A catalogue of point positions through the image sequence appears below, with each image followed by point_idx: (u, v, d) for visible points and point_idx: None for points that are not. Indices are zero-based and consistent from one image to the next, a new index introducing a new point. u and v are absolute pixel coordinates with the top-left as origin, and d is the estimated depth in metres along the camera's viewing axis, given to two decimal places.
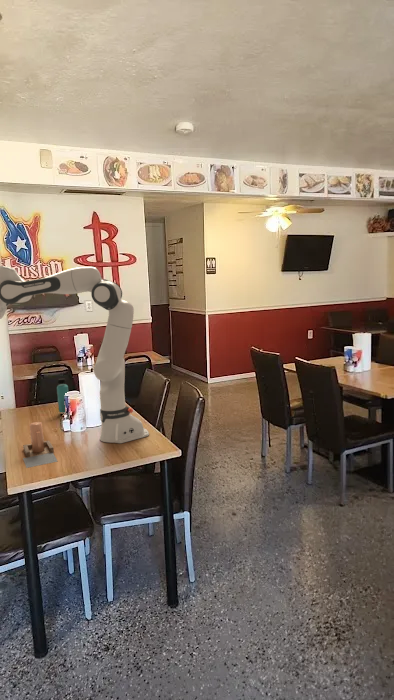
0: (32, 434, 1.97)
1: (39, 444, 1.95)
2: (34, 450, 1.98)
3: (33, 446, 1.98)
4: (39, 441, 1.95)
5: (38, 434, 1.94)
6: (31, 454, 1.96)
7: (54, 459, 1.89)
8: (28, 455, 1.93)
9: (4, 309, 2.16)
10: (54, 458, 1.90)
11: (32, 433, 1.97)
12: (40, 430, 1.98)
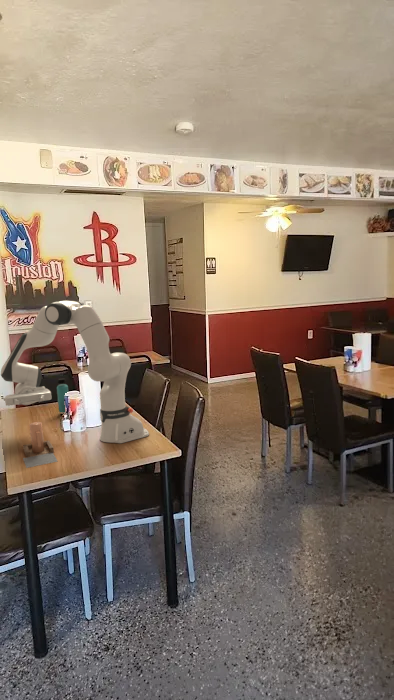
0: (32, 434, 1.97)
1: (39, 444, 1.95)
2: (34, 450, 1.98)
3: (33, 446, 1.98)
4: (39, 441, 1.95)
5: (38, 434, 1.94)
6: (31, 454, 1.96)
7: (54, 459, 1.89)
8: (28, 455, 1.93)
9: (44, 390, 2.20)
10: (54, 458, 1.90)
11: (32, 433, 1.97)
12: (40, 430, 1.98)
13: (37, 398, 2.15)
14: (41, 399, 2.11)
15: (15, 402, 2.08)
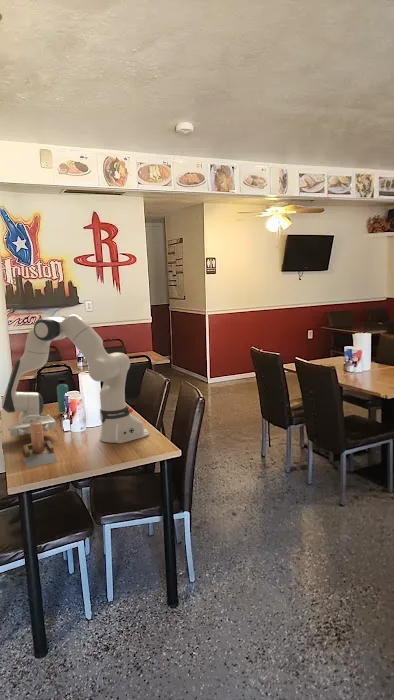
0: (32, 434, 1.97)
1: (39, 444, 1.95)
2: (34, 450, 1.98)
3: (33, 446, 1.98)
4: (39, 441, 1.95)
5: (38, 434, 1.94)
6: (31, 454, 1.96)
7: (54, 459, 1.89)
8: (28, 455, 1.93)
9: (49, 418, 2.18)
10: (54, 458, 1.90)
11: (32, 433, 1.97)
12: (40, 430, 1.98)
13: None
14: (46, 429, 2.08)
15: (19, 432, 2.06)
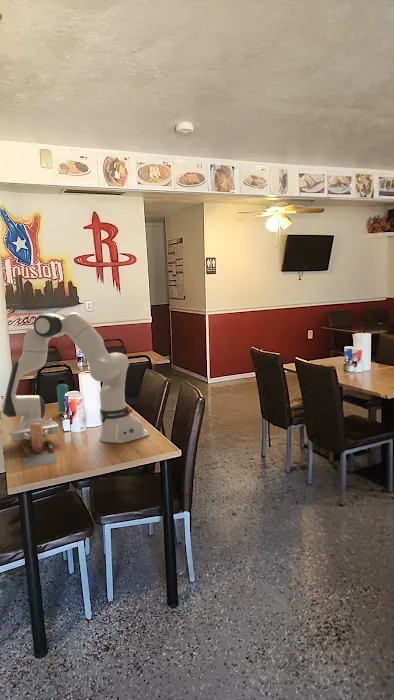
0: (32, 434, 1.97)
1: (39, 444, 1.95)
2: (34, 450, 1.98)
3: (33, 446, 1.98)
4: (39, 441, 1.95)
5: (38, 434, 1.94)
6: (31, 454, 1.96)
7: (54, 459, 1.89)
8: (28, 455, 1.93)
9: (51, 422, 2.11)
10: (54, 458, 1.90)
11: (32, 433, 1.97)
12: (40, 430, 1.98)
13: (44, 432, 2.05)
14: (45, 434, 2.00)
15: (25, 437, 1.99)
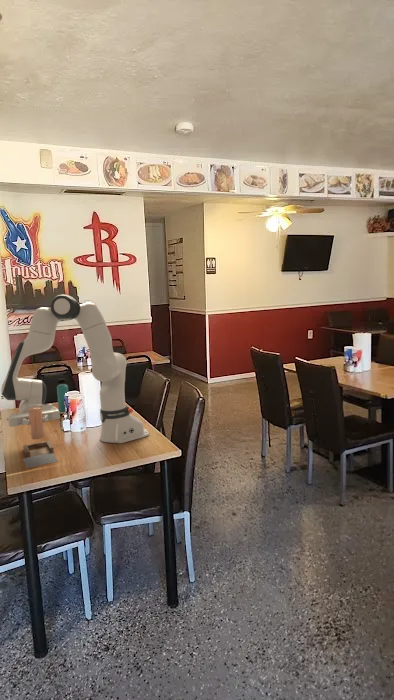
0: (31, 419, 1.85)
1: (38, 430, 1.83)
2: (33, 436, 1.86)
3: (32, 432, 1.86)
4: (38, 427, 1.83)
5: (37, 419, 1.82)
6: (31, 454, 1.96)
7: (54, 459, 1.89)
8: (28, 455, 1.93)
9: (52, 408, 1.98)
10: (54, 458, 1.90)
11: (31, 418, 1.85)
12: (39, 415, 1.86)
13: None
14: (44, 420, 1.88)
15: (23, 422, 1.87)
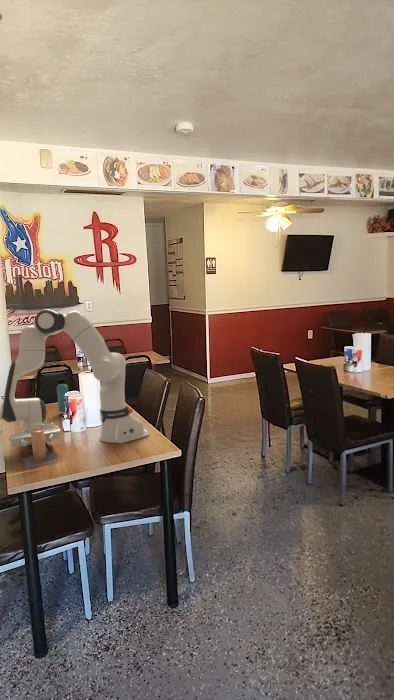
0: (33, 442, 1.86)
1: (41, 453, 1.84)
2: (35, 459, 1.87)
3: (34, 455, 1.87)
4: (41, 450, 1.84)
5: (39, 443, 1.83)
6: (31, 454, 1.96)
7: (54, 459, 1.89)
8: (28, 455, 1.93)
9: (53, 427, 1.99)
10: (54, 458, 1.90)
11: (33, 441, 1.86)
12: (42, 438, 1.87)
13: (46, 437, 1.94)
14: (50, 439, 1.90)
15: (22, 443, 1.87)
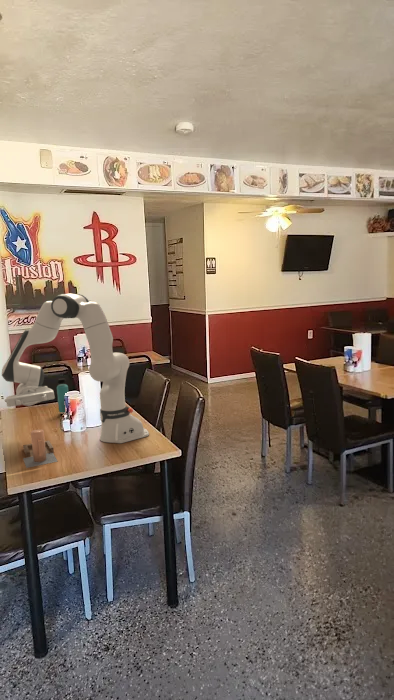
0: (33, 442, 1.86)
1: (41, 453, 1.84)
2: (35, 459, 1.87)
3: (34, 455, 1.87)
4: (41, 450, 1.84)
5: (39, 442, 1.83)
6: (31, 454, 1.96)
7: (54, 459, 1.89)
8: (28, 455, 1.93)
9: (47, 389, 2.11)
10: (54, 458, 1.90)
11: (33, 441, 1.86)
12: (42, 438, 1.87)
13: (39, 398, 2.06)
14: (44, 398, 2.02)
15: (17, 402, 1.99)
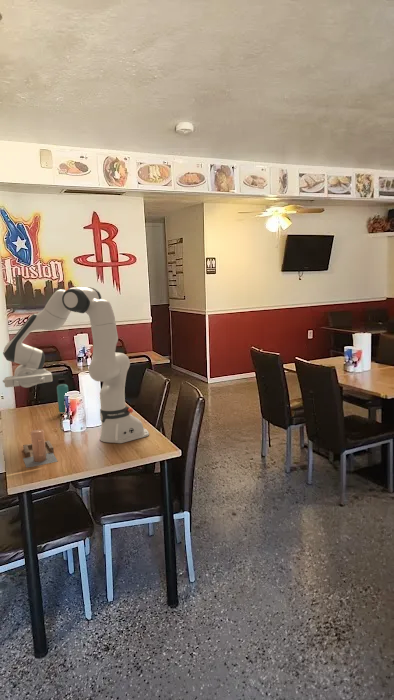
0: (33, 442, 1.86)
1: (41, 453, 1.84)
2: (35, 459, 1.87)
3: (34, 455, 1.87)
4: (41, 450, 1.84)
5: (40, 442, 1.83)
6: (31, 454, 1.96)
7: (54, 459, 1.89)
8: (28, 455, 1.93)
9: (45, 372, 2.12)
10: (54, 458, 1.90)
11: (33, 441, 1.86)
12: (42, 438, 1.87)
13: (37, 380, 2.06)
14: (42, 380, 2.02)
15: (15, 383, 2.00)
